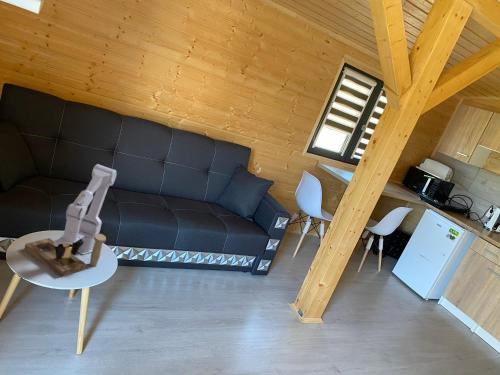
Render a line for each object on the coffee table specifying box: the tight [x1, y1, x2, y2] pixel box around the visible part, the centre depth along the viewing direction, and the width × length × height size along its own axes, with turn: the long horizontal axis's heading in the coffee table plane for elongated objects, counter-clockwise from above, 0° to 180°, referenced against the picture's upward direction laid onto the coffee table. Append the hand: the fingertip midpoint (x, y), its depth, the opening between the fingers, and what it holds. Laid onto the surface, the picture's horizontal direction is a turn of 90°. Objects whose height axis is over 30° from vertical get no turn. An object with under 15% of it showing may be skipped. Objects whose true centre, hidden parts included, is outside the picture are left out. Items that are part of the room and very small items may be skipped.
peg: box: [58, 243, 73, 266], centre depth 171 cm, size 4×4×10 cm
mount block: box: [24, 237, 86, 278], centre depth 174 cm, size 12×26×3 cm, turn 62°
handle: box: [89, 233, 107, 267], centre depth 179 cm, size 5×6×15 cm
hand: (65, 256), depth 171 cm, fingers open, 7 cm apart
